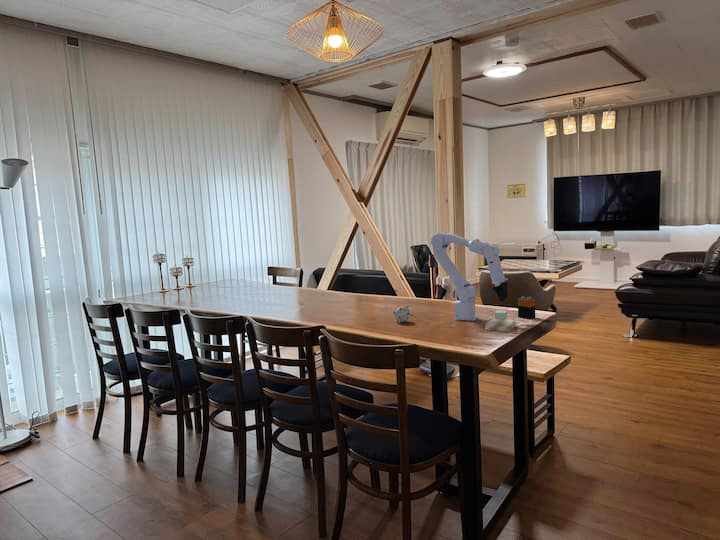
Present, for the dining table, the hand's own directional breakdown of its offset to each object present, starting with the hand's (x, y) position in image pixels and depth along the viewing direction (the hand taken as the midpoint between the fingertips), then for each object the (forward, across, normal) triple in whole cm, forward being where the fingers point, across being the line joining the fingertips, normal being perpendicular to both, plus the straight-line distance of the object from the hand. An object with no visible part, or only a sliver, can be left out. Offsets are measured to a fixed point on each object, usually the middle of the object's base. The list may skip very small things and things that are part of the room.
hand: (504, 299), depth 228 cm
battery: (+12, +12, -6) cm, 18 cm away
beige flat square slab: (+11, -11, +3) cm, 16 cm away
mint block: (+10, 0, +4) cm, 10 cm away
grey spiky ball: (-1, -9, +47) cm, 47 cm away
